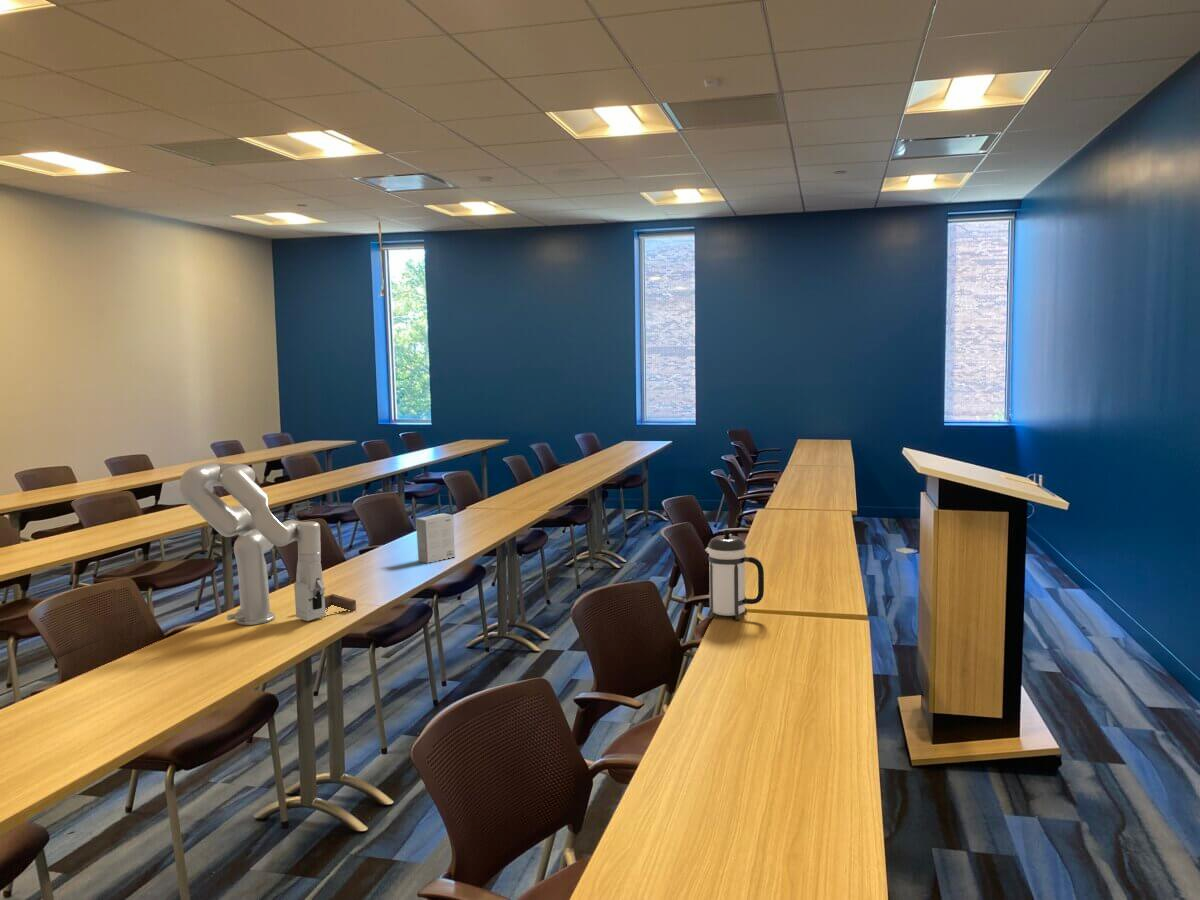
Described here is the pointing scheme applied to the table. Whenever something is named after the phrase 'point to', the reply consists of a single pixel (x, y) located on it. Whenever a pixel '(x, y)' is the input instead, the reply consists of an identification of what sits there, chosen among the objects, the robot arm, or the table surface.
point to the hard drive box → (435, 537)
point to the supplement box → (307, 602)
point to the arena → (340, 602)
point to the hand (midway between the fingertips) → (310, 606)
